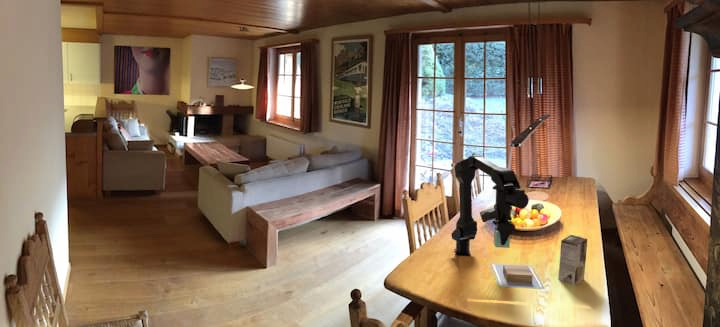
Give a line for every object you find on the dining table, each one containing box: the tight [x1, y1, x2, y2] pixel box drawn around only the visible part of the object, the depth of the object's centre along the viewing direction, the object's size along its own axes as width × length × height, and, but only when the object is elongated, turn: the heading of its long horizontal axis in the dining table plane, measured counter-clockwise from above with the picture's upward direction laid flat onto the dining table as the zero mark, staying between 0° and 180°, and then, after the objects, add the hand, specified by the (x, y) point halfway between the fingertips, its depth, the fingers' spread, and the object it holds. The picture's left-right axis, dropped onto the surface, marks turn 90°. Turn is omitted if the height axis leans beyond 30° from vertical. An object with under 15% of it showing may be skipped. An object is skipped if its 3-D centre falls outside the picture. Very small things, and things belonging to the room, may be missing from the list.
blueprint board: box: [490, 263, 546, 290], centre depth 187 cm, size 22×16×1 cm
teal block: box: [493, 227, 511, 249], centre depth 187 cm, size 5×5×6 cm
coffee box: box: [557, 234, 588, 286], centre depth 183 cm, size 9×6×16 cm
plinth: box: [503, 264, 533, 283], centre depth 185 cm, size 9×9×3 cm
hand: (501, 242), depth 188 cm, fingers closed on teal block, 5 cm apart
